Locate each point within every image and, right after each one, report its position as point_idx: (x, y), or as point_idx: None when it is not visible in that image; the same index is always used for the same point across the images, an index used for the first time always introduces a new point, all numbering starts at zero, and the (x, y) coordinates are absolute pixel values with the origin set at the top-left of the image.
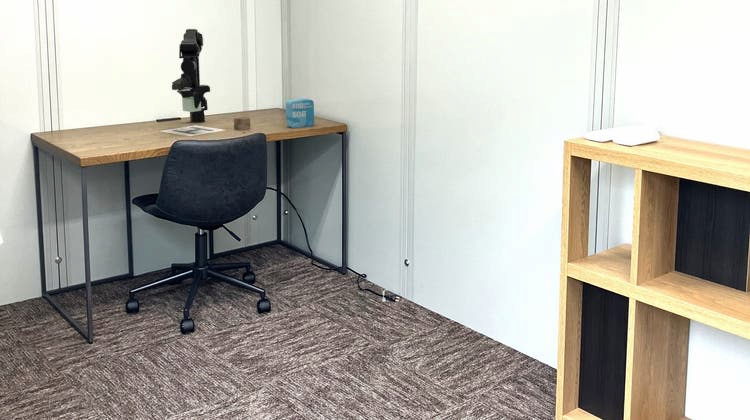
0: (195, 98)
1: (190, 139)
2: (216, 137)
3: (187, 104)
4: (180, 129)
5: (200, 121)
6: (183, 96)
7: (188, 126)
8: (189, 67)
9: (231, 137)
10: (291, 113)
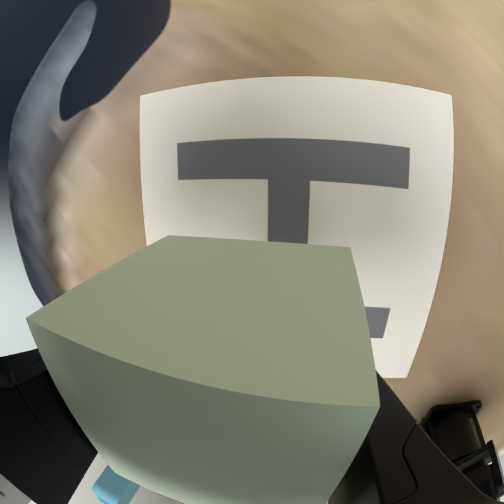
0: (9, 357)
1: (132, 87)
2: (95, 216)
3: (185, 279)
4: (394, 226)
5: (423, 429)
6: (397, 488)
7: (420, 335)
8: None
9: (69, 255)
10: (106, 467)
